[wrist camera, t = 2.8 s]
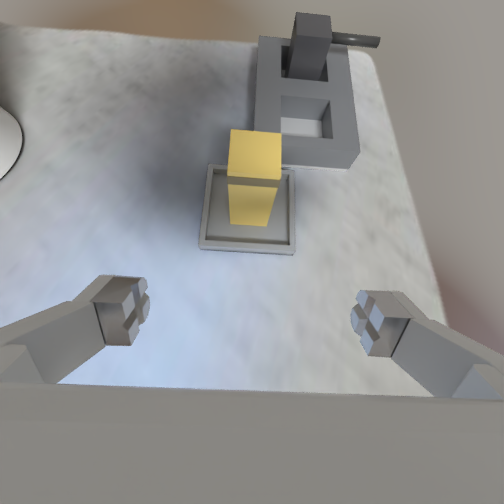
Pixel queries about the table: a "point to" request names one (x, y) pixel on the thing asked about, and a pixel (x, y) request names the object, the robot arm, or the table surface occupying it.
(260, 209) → the plug
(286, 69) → the grey socket block
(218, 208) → the tray
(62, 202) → the table surface
